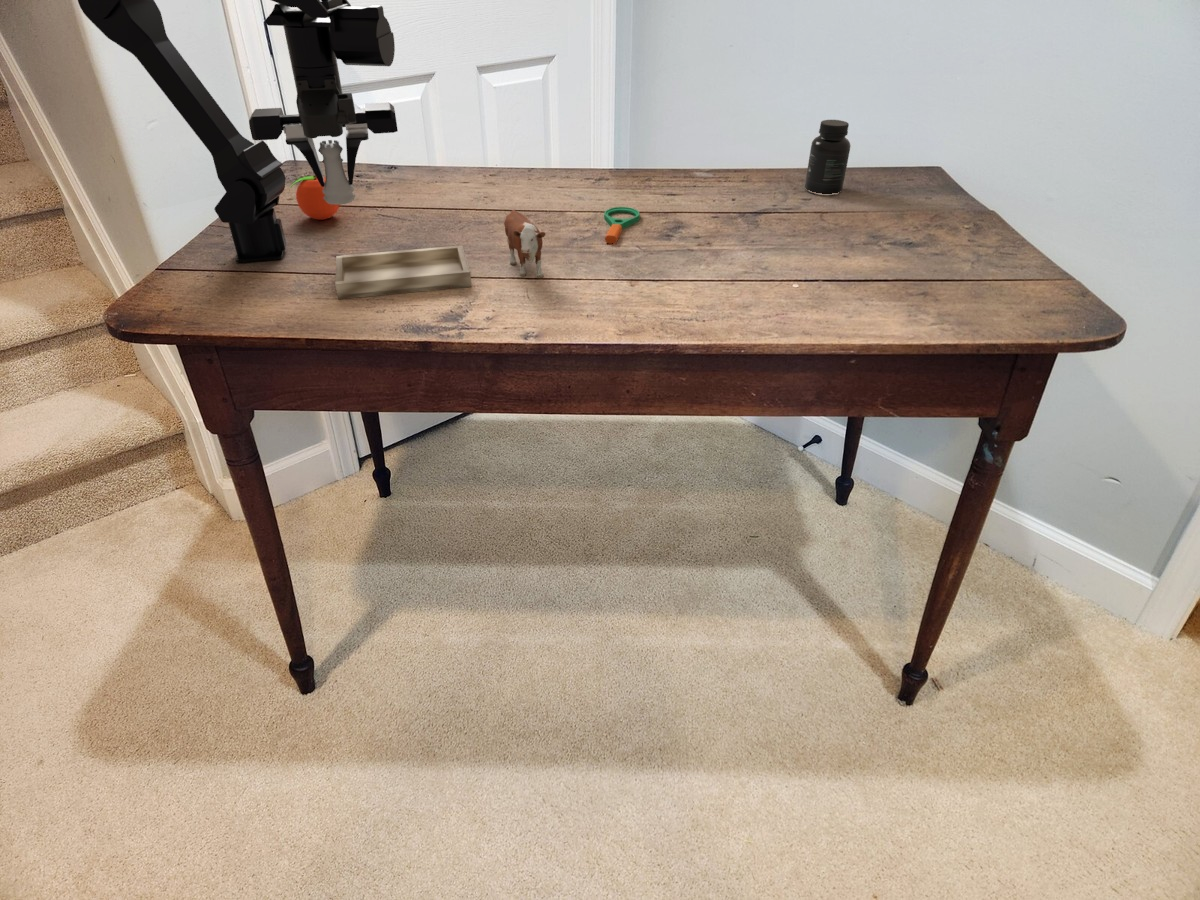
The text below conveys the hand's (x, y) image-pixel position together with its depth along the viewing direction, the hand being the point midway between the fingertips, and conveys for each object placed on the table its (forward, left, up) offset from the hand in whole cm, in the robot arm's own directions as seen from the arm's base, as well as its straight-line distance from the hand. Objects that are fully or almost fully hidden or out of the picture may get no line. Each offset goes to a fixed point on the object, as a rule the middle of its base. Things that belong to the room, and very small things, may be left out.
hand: (337, 184), depth 112 cm
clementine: (-5, +19, -11) cm, 23 cm away
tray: (+7, -9, -11) cm, 16 cm away
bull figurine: (+25, -10, -11) cm, 29 cm away
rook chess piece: (0, 0, -2) cm, 2 cm away
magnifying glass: (+43, +4, -12) cm, 45 cm away
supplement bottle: (+85, +14, -11) cm, 87 cm away
